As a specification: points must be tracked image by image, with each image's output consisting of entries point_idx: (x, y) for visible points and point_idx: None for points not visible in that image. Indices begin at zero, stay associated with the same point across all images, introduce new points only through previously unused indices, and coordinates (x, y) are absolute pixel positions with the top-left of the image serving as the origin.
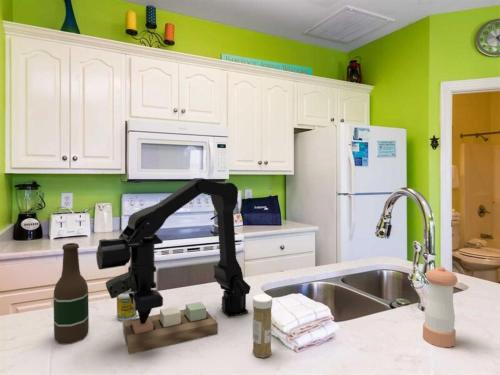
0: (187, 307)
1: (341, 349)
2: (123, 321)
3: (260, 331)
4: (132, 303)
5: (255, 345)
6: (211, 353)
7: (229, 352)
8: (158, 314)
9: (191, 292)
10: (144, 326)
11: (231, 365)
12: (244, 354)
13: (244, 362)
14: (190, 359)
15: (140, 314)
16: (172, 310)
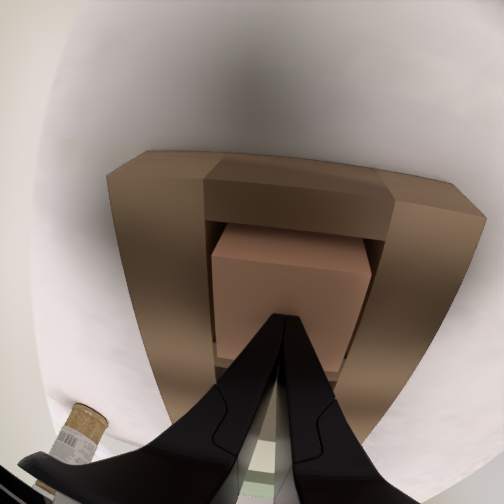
0: (266, 481)
1: (96, 450)
2: (476, 217)
3: (52, 446)
4: (23, 462)
5: (72, 421)
6: (97, 371)
7: (98, 392)
8: (396, 394)
9: (493, 440)
10: (220, 317)
11: (52, 366)
12: (89, 400)
13: (62, 383)
14: (74, 327)
15: (223, 380)
16: (257, 461)
